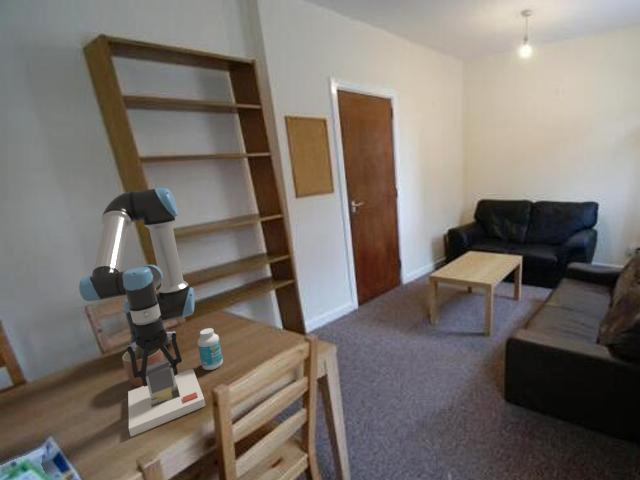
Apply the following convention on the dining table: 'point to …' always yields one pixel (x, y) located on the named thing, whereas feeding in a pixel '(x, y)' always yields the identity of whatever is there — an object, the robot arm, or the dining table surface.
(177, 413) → the socket plate
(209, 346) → the pill bottle
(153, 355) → the planter
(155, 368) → the plug
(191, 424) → the dining table surface
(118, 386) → the dining table surface
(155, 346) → the robot arm
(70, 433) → the dining table surface
